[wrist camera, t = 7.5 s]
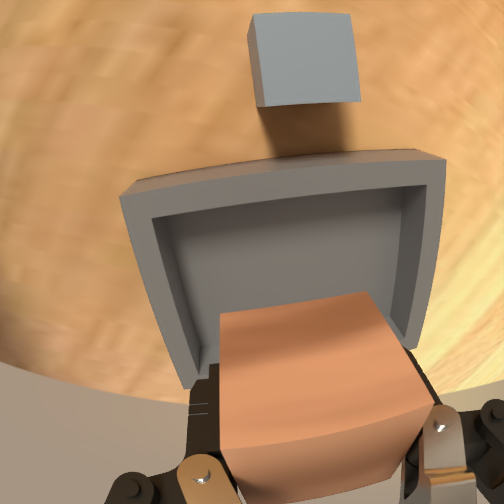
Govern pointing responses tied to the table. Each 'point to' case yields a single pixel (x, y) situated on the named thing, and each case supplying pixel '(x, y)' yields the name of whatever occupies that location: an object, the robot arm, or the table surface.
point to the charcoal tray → (285, 241)
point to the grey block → (303, 58)
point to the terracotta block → (315, 399)
